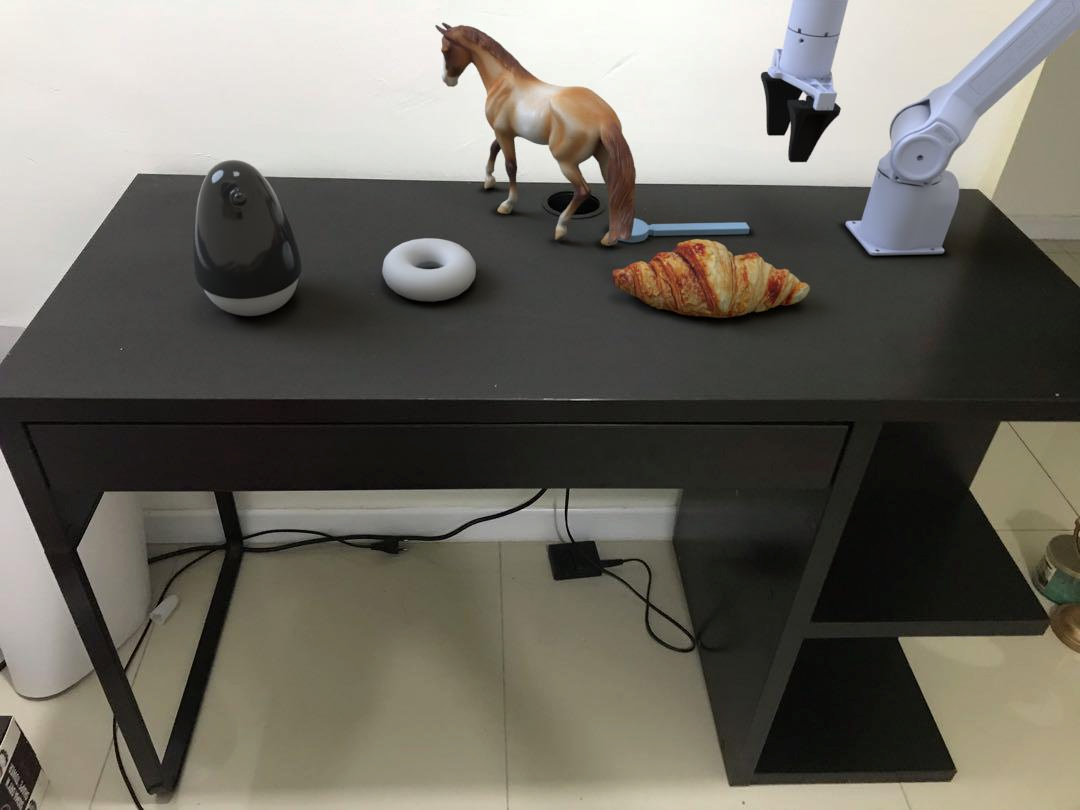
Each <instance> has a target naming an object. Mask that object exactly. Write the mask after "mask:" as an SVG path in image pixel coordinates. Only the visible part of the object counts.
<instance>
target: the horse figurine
mask: <svg viewBox="0 0 1080 810" xmlns="http://www.w3.org/2000/svg"><path fill="white" fill-rule="evenodd" d="M441 25H442V26H443V28H442V27H441V26H439V25H438V24H435V26H434V27H435V28H436V30H437V31H438V32H439V33H440V34H441V35H442V37H441V48H440V52H441V53H442V59H443V60H442V61H443V62H442V63H443V64H442V65H443V66H442V75H441V79H442V83H444V84H445V85H446V86H447V87H448V88H450V87H451V88H454V87H456V86H457V85H458V83H459V78H460V77H461V75H462V74H463V73H464V72H465V70H466V69H467V68H468V66H469V65H471V64H473V65H474V67H475V68H476V70H477V72H478V74H479V77H480V79H481V82H482V84H483V86H484V88H485V91H486V99H485V104H484V112H485V113H484V116H485V119H486V121H487V123H488V124H489V126H490V128H491V129H492V130H493V133H494V137H495V139H494V140H493V141H492V143H491V145H490V147H489V157H488V159H487V163H486V165H485V168H484V169H485V176H484V185H483V186H484V189H485V190H487V189H489V188H492V187H494V186H496V184H497V181H496V177H495V176H494V175H493V173H494V172H495V167H496V166H495V164H496V161H497V157H498V154H499V153H500V151H501V152H502V154H503V157H504V166H505V171H506V175H507V177H508V180H509V193H508V198H507V199H505V201H503V202H502V203H501V204H500V206H499V207H498V208H497V212H498V213H500V214H503V215H508V214H511V212H512V210H513V208H514V207H513V204H514V203H516V202H518V200H519V194H518V186H517V173H518V163H517V162H518V161H517V154H516V143H515V139H516V138H517V137H518V138H522V139H524V140H527V141H529V142H531V143H533V144H535V145H541V146H548V150H549V152H550V153H551V155H552V157H553V159H554V160H555V161H556V162H557V164H558V167H559V169H560V172H561V173H562V175H563V177H565V179H566V180H568V181H569V182H570V184H571V185H572V186H573V197H572V199H571V201H570V203H569V204H568V205H567V207H566V209H564V210H563V211H562V213H561V214H560V215H559V217H558V221H557V224H556V226H555V235H554V240H555V241H559V240H561V239H562V238H563V237H565V236H566V235H568V227H567V226H566V224H567V223H570V222H571V219H572V217H573V216H574V214H575V213H576V211H577V209H578V208H579V207H580V206H581V205H582V204H583V203H584V202H585V201H586V200H587V199H589V197H590V196H591V194H592V188H591V186H590V184H589V183H588V182H587V181H586V179H585V178H584V175H583V173H582V171H581V169H580V164H582V163H584V162H586V161H587V160H589V159H591V157H593V158H594V159H595V161H596V162H597V163H598V166H599V167H598V168H599V170H600V174H601V177H602V179H603V182H604V184H605V186H606V189H607V192H608V200H607V201H608V203H607V204H608V220H609V226H608V229H609V230H608V231H607V232H606V233H605V235H604V236H603V238H602V239H601V240H600V244H601V245H603V246H607V247H611V246H615V245H617V243H618V241H619V240H618V239H619V238H621V239H622V240H626V239H630V237H631V235H632V230H633V224H634V218H635V217H636V209H635V204H636V203H635V202H636V192H635V189H636V179H637V171H636V166H635V161H634V157H633V154H632V151H631V148H630V145H629V144H628V142H627V140H626V138H625V136H624V134H623V126H622V122H621V120H620V118H619V116H618V114H617V112H616V111H615V110H614V108H613V107H612V106H611V105H610V104H609V103H608V102H607V101H606V100H605V99H604V98H603V97H601V96H600V95H599V94H597V93H596V92H595V91H593V90H592V89H590V88H588V87H584V86H577V85H575V86H563V85H562V86H561V85H556V84H553V83H548V82H545V81H543V80H541V79H539V78H538V77H536V76H535V75H534V74H532V73H531V72H530V71H529V70H528V69H527V68H525V67H524V66H523V65H522V64H521V63H520V62H519V60H518V59H517V58H516V57H515V56H514V55H513V54H512V53H511V52H509V51H508V50H507V49H506V48H505V47H504V46H503V45H502V44H501V43H500V42H498V41H497V40H496V39H494V38H493V37H492V36H490V35H488V34H487V33H486V32H484V31H481V30H480V29H478V28H477V27H474V26H470V25H464V24H459V25H457V26H451V25H450V24H447V23H446V22H441Z"/></svg>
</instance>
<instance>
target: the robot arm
mask: <svg viewBox="0 0 1080 810" xmlns="http://www.w3.org/2000/svg"><path fill="white" fill-rule="evenodd" d="M848 2H849V0H792V3H791V7H790V12H789V17H788V22H787V25H786V30H785V36H784V40H783V45H782V48H774V50H773V55H772V60H771V66H769V67H768V69H767V71H762V72H761V74H760V80H761V83H762V86H763V91H764V95H765V97H764V98H765V110H766V112H765V113H766V114H765V116H766V118H765V119H766V120H765V121H766V134H767V135H768V136H769V137H771V136H772V137H775V136H776V137H779V136H785V135H786V134H787V131H788V130H789V127H790V132H789V133H790V134H789V142H788V152H787V156H788V157H787V159H788V161H789V162H790V163H807V162H808V161H809V159H810V157H811V156H812V154H813V151H814V150H815V148H816V146H817V144H818V142H819V141H820V139H821V138H822V136H823V134H824V133H825V131H826V130H827V129H828V127H829V126H830V125H831V124H832V123H833V122H834V121H835V119H836V118H837V117H839V116H840V113H841V110H842V107H841V106H840V105H838V104H837V102H836V99H837V95H838V92H837V91H836V90H835V88H834V80H833V73H832V68H833V64H834V60H835V55H836V51H837V47H838V44H839V40H840V36H841V31H842V28H843V23H844V19H845V14H846V11H847V7H848ZM1079 29H1080V0H1033V2H1032V3H1030V4H1029V6H1028V7H1026V8H1025V10H1024V11H1022V12H1021V13H1020V14H1019V15H1018V16H1017V17H1016V18H1015V19H1014V20H1013V21H1012V22H1011V23H1009V24H1008V25H1007V27H1006V28H1004V30H1002V31H1001V32H1000V33H999V34H998V35H997V36H996V37H995V38H994V39H993V40H992V41H991V42H990V43H989V44H988V45H987V46H985V48H984V49H982V50H981V51H980V52H979V53H978V54H977V55H976V56H974V58H973V59H972V60H970V61H969V63H968V64H967V65H965V66H964V68H962V69H961V70H960V71H959V72H958V73H956V75H955V76H954V77H953V78H952V79H951V80H950V81H949V82H947V83H945V84H943V85H940V86H937V87H935V88H934V89H932V90H931V91H930V92H929V93H928V94H927V95H925V97H923V98H921V99H919V100H918V101H916V102H912V103H910V104H908V105H907V104H906V106H904V107H902V108H901V109H900V110H898V111H897V113H896V114H895V115H894V117H893V118H892V120H891V123H890V125H889V139H890V150H889V151H888V152H887V153H886V154H885V155H883V157H881V158H880V159H879V161H878V164H877V167H876V171H875V174H874V177H873V180H872V184H871V187H870V191H869V193H868V197H867V200H866V204H865V207H864V210H863V214H862V217H861V220H847V221H846V222H845V226H846V228H847V229H848V230H849V231H850V232H851V234H852V235H853V236H854V237H855V238H856V240H857V241H858V243H860V245H861V246H862V247H863V248H864V249H865V251H866V252H867V253H868V254H869V255H870V256H874V257H875V256H906V255H908V256H912V255H913V256H915V255H942V254H944V253H945V249H944V248H943V244H944V241H945V239H946V236H947V234H948V230H949V228H950V225H951V223H952V220H953V217H954V215H955V213H956V210H957V207H958V203H959V199H960V186H959V181H958V178H957V176H956V175H955V174H954V173H953V172H952V171H950V170H946V169H947V168H948V166H949V164H950V162H951V160H952V157H953V155H954V154H955V152H956V151H957V150H958V149H959V148H960V147H961V146H962V145H963V144H964V143H965V142H966V141H967V140H968V138H969V137H970V135H971V133H972V131H973V129H974V128H975V126H976V124H977V122H978V121H979V119H980V118H981V117H982V116H983V115H984V114H985V113H987V112H988V111H989V110H990V109H991V108H992V107H994V105H996V103H998V102H999V101H1000V100H1001V99H1002V98H1003V97H1004V96H1006V95H1007V94H1008V93H1009V92H1010V91H1011V90H1012V89H1013V88H1014V87H1016V85H1018V84H1019V83H1020V82H1021V81H1022V80H1023V79H1025V77H1027V75H1029V74H1030V73H1031V72H1032V71H1033V70H1034V69H1035V68H1037V67H1038V66H1039V65H1040V64H1042V62H1043V61H1045V59H1047V58H1048V57H1049V56H1050V55H1051V54H1052V53H1054V52H1055V50H1057V49H1058V48H1059V47H1060V46H1062V44H1063V43H1065V42H1066V41H1067V40H1068V39H1069V38H1070V37H1071V36H1072V35H1073V34H1075V33H1076V32H1077V31H1078V30H1079ZM803 93H804V94H805V95H806V96H805V99H800V98H801V96H802V94H803Z"/></svg>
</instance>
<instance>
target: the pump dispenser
mask: <svg viewBox="0 0 1080 810" xmlns="http://www.w3.org/2000/svg"><path fill="white" fill-rule="evenodd" d="M197 196H198V197H197V200H196V201H197V202H196V206H195V214H194V223H193V238H192V245H193V246H192V248H193V249H192V251H193V252H192V253H193V255H192V256H193V268H194V274H195V279H196V282H197V284H198V285H199V286H200V288H201V289H203V291H204V293H205V294H206V296H207V297H208V299H209V300H210V301H211V302H212V303H213V304H214V305H215V306H217V307H218V308H220V309H221V310H223V311H224V312H227V313H229V314H233V315H237V316H243V317H257V316H262V315H265V314H270V313H272V312H274V311H276V310H278V309H280V308H281V307H283V306H284V305H285V304H286V303H287V302H289V301H290V299H291V298H292V297H293V295H294V293H295V291H296V288H297V285H298V282H299V277H300V276H301V273H302V267H303V266H302V259H301V255H300V254H301V253H300V250H299V247H298V244H297V241H296V238H295V235H294V232H293V228H292V225H291V224H290V222H289V219H288V217H287V214H286V212H285V210H284V208H283V205H282V203H281V201H280V200H279V198H278V196H277V194H276V192H275V190H274V188H273V187H272V186H271V184H270V183H269V181H268V180H267V179H266V177H265V176H264V175H263V173H261V172H260V171H259V170H258V168H256V167H255V166H254V165H252V164H251V163H248V162H246V161H244V160H243V161H242V160H239V159H227V160H223V161H221V162H219V163H217V164H215V165H214V166H213V167H211V169H209V171H208V172H207V174H206V175H205V177H204V179H203V181H202V184H201V186H200V188H199V192H198V195H197Z"/></svg>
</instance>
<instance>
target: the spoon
mask: <svg viewBox="0 0 1080 810" xmlns="http://www.w3.org/2000/svg"><path fill="white" fill-rule="evenodd" d="M750 230H751V228H750V226H749V225H748V224H747V222H741V221H740V222H698V223H697V222H696V223H695V222H693V223H691V222H689V223H651V224H647V222H646V221H644V220H642V219H639V218H635V217H634V224H633V230H632V235H631V237H630V239H626V240H622V239H621V238H619V239H618V241H620V242H623V243H631V244H632V243H634V244H635V243H640V242H643V241H646V239H647V238H648V237H649V236H653V237H669V236H671V237H672V236H674V237H675V236H678V237H679V236H716V235H717V236H719V235H720V236H721V235H749V234H750Z"/></svg>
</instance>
